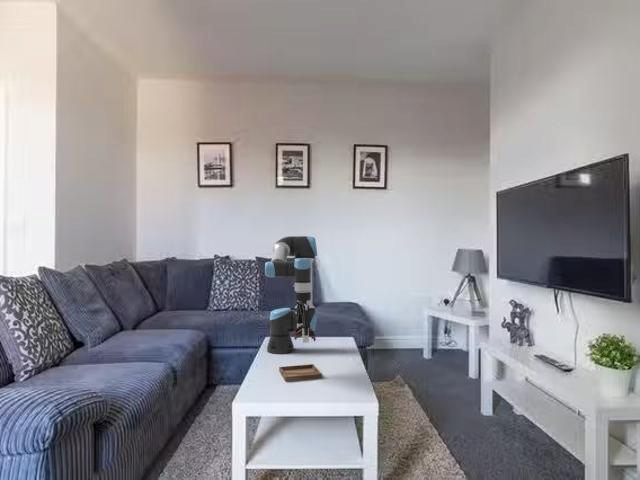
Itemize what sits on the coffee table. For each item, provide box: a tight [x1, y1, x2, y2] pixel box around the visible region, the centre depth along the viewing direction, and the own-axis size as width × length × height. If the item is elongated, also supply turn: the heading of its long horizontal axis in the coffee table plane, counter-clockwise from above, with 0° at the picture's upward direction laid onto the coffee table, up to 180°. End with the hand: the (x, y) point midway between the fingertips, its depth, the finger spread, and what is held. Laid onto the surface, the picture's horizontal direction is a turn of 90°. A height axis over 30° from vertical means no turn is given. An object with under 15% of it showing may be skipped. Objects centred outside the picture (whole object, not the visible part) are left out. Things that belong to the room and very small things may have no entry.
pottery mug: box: [292, 325, 316, 342], centre depth 194 cm, size 12×10×8 cm
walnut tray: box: [278, 363, 323, 383], centre depth 192 cm, size 16×17×2 cm
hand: (302, 339), depth 193 cm, fingers closed on pottery mug, 10 cm apart
